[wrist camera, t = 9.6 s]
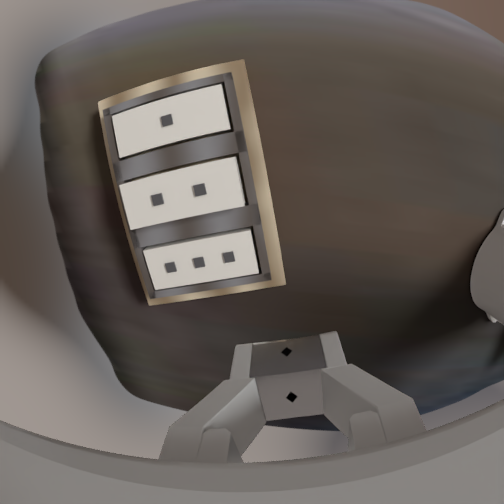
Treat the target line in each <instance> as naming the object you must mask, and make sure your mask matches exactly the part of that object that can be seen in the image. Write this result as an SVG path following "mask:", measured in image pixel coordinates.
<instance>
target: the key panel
mask: <svg viewBox="0 0 504 504" xmlns="http://www.w3.org/2000/svg"><path fill="white" fill-rule="evenodd" d="M220 84H221V85H222V87H223V89H224V94H225V99H226V104H227V109H228V114H229V118H230V123H231V128H232V131H227V132H222V133H218V134H213V135H208V136H204V137H200V138H196V139H191V140H187V141H183V142H179V143H176V144H172V145H168V146H164V147H161V148H157V149H154V150H150V151H147V152H143V153H140V154H137V155H133V156H130V157H125V158H120V157H119V152H118V147H117V142H116V137H115V131H114V126H113V120H112V116H113V115H116V114H119V113H122V112H124V111H127V110H130V109H133V108H136V107H139V106H142V105H145V104H148V103H151V102H155V101H158V100H161V99H165V98H168V97H171V96H175V95H179V94H182V93H186V92H190V91H194V90H198V89H202V88H206V87H211V86H215V85H220ZM98 106H99V113H100V119H101V125H102V131H103V136H104V142H105V147H106V152H107V157H108V162H109V167H110V171H111V176H112V180H113V184H114V189H115V193H116V197H117V201H118V205H119V209H120V213H121V217H122V220H123V224H124V228H125V231H126V235H127V238H128V242H129V245H130V249H131V252H132V255H133V258H134V262H135V265H136V268H137V271H138V274H139V277H140V280H141V283H142V286H143V289H144V292H145V295H146V298H147V301H148V304H149V306H150V305H158V304H165V303H172V302H179V301H186V300H193V299H200V298H206V297H213V296H219V295H226V294H232V293H238V292H245V291H251V290H257V289H263V288H269V287H274V286H280V285H286V281H285V275H284V269H283V263H282V257H281V251H280V245H279V239H278V233H277V227H276V222H275V216H274V210H273V205H272V199H271V194H270V188H269V183H268V177H267V172H266V167H265V161H264V156H263V151H262V146H261V141H260V135H259V130H258V125H257V120H256V115H255V110H254V105H253V101H252V96H251V91H250V86H249V81H248V77H247V72H246V67H245V63H244V59H243V60H237V61H232V62H227V63H222V64H218V65H213V66H209V67H204V68H200V69H196V70H192V71H188V72H185V73H181V74H177V75H174V76H170V77H167V78H164V79H160V80H157V81H154V82H151V83H148V84H145V85H142V86H139V87H136V88H133V89H130V90H127V91H125V92H122V93H119V94H117V95H114V96H111V97H109V98H106V99H104V100H101V101H99V102H98ZM231 157H236V159H237V164H238V169H239V174H240V179H241V184H242V189H243V194H244V199H245V206H243V207H238V208H232V209H227V210H222V211H217V212H212V213H207V214H202V215H197V216H192V217H187V218H183V219H178V220H173V221H169V222H164V223H160V224H155V225H151V226H146V227H142V228H137V229H133V230H130V226H129V222H128V219H127V215H126V211H125V207H124V203H123V199H122V195H121V191H120V187H119V185H122V184H125V183H128V182H132V181H135V180H139V179H143V178H146V177H150V176H154V175H158V174H161V173H165V172H169V171H173V170H177V169H181V168H185V167H190V166H194V165H198V164H203V163H207V162H212V161H216V160H221V159H226V158H231ZM250 226H251V229H252V234H253V239H254V245H255V250H256V255H257V260H258V265H259V273H257V274H251V275H245V276H239V277H234V278H228V279H221V280H215V281H209V282H203V283H197V284H191V285H184V286H178V287H171V288H165V289H158V290H155V288H154V285H153V282H152V278H151V275H150V272H149V269H148V266H147V262H146V259H145V256H144V252H143V250H144V249H145V248H147V247H148V246H151V245H156V244H161V243H166V242H171V241H176V240H181V239H186V238H191V237H196V236H201V235H207V234H212V233H217V232H222V231H228V230H233V229H239V228H244V227H250Z"/></svg>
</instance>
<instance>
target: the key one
mask: <svg viewBox="0 0 504 504" xmlns="http://www.w3.org/2000/svg"><path fill="white" fill-rule="evenodd" d="M112 120H113V126H114V131H115V137H116V142H117V147H118V152H119V157H120V158H125V157H130V156H133V155H137V154H140V153H143V152H147V151H150V150H154V149H157V148H161V147H164V146H168V145H172V144H176V143H179V142H183V141H187V140H191V139H196V138H200V137H204V136H208V135H213V134H218V133H222V132H227V131H232V128H231V123H230V118H229V114H228V109H227V104H226V99H225V94H224V89H223V87H222V85H221V84H220V85H215V86H211V87H206V88H202V89H198V90H194V91H190V92H186V93H182V94H179V95H175V96H171V97H168V98H165V99H161V100H158V101H155V102H151V103H148V104H145V105H142V106H139V107H136V108H133V109H130V110H127V111H124V112H122V113H119V114H116V115H113V116H112Z"/></svg>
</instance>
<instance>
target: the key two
mask: <svg viewBox="0 0 504 504" xmlns="http://www.w3.org/2000/svg"><path fill="white" fill-rule="evenodd" d="M119 187H120V191H121V195H122V199H123V203H124V207H125V211H126V215H127V219H128V222H129V226H130V230H133V229H137V228H142V227H146V226H151V225H155V224H160V223H164V222H169V221H173V220H178V219H183V218H187V217H192V216H197V215H202V214H207V213H212V212H217V211H222V210H227V209H232V208H238V207H243V206H245V199H244V194H243V189H242V184H241V179H240V174H239V169H238V164H237V159H236V157H231V158H226V159H221V160H216V161H212V162H207V163H203V164H198V165H194V166H190V167H185V168H181V169H177V170H173V171H169V172H165V173H161V174H158V175H154V176H150V177H146V178H143V179H139V180H135V181H132V182H128V183H125V184H122V185H119Z"/></svg>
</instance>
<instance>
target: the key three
mask: <svg viewBox="0 0 504 504" xmlns="http://www.w3.org/2000/svg"><path fill="white" fill-rule="evenodd" d="M143 252H144V256H145V259H146V262H147V266H148V269H149V272H150V275H151V278H152V282H153V285H154V288H155V290H158V289H165V288H171V287H178V286H184V285H191V284H197V283H203V282H209V281H215V280H221V279H228V278H234V277H239V276H245V275H251V274H257V273H259V265H258V260H257V255H256V250H255V245H254V239H253V234H252V229H251V226H250V227H244V228H239V229H233V230H228V231H222V232H217V233H212V234H207V235H201V236H196V237H191V238H186V239H181V240H176V241H171V242H166V243H161V244H156V245H151V246H148V247H147V248H145V249H144V250H143Z"/></svg>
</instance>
